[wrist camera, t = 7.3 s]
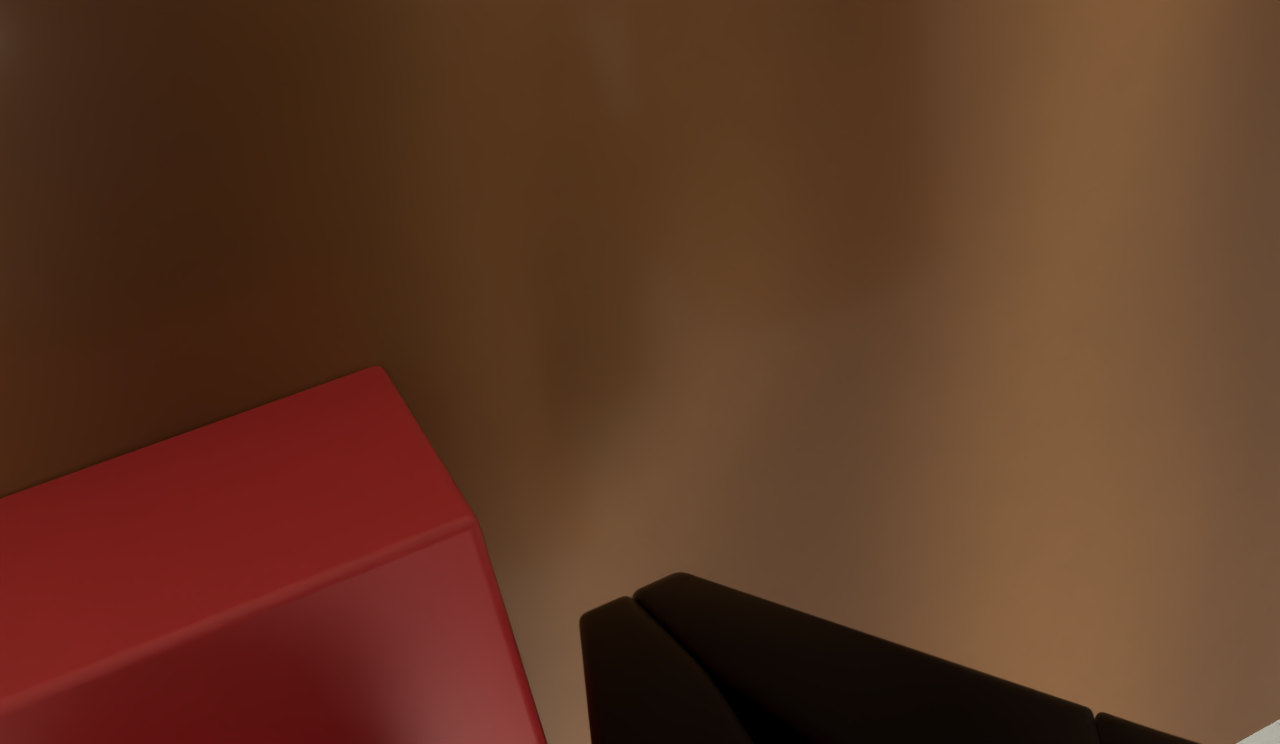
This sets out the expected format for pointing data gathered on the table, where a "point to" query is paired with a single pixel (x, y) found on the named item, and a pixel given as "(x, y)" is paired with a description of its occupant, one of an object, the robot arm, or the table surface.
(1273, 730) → the table surface
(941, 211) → the stand
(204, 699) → the red block
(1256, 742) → the table surface
